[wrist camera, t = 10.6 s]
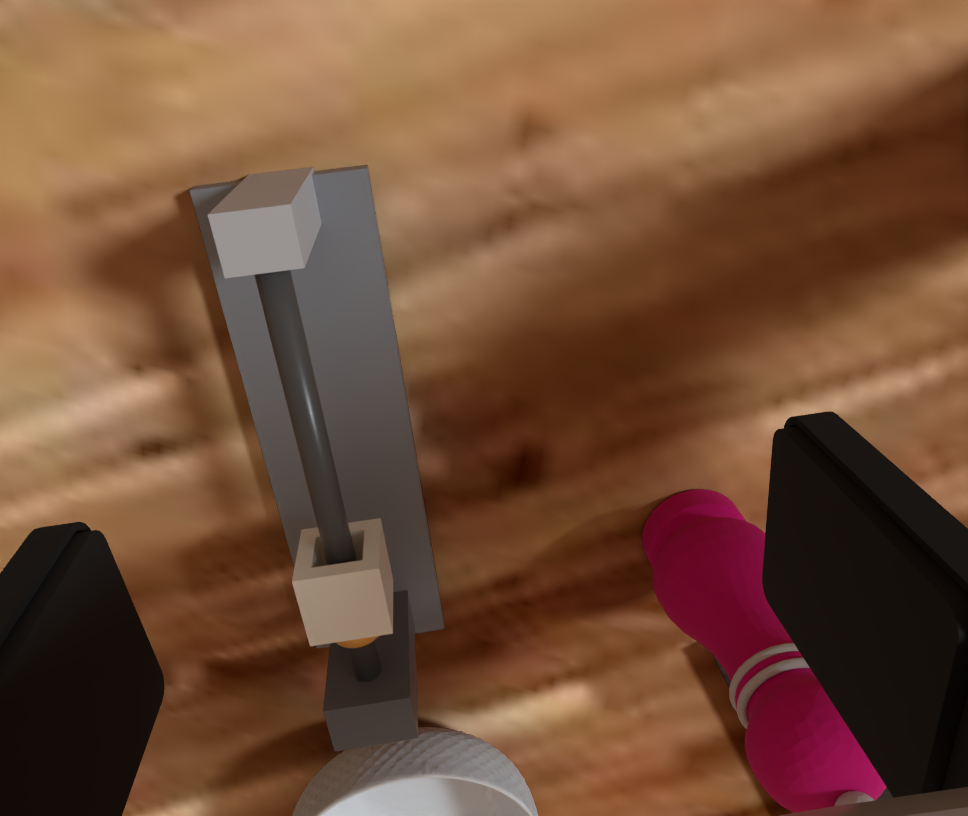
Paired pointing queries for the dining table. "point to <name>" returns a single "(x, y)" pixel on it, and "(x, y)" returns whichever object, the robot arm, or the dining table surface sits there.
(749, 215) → the dining table surface
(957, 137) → the dining table surface
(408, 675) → the linear slide rail
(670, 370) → the dining table surface
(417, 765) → the cereal bowl
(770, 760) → the pepper mill
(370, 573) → the sleeve
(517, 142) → the dining table surface
